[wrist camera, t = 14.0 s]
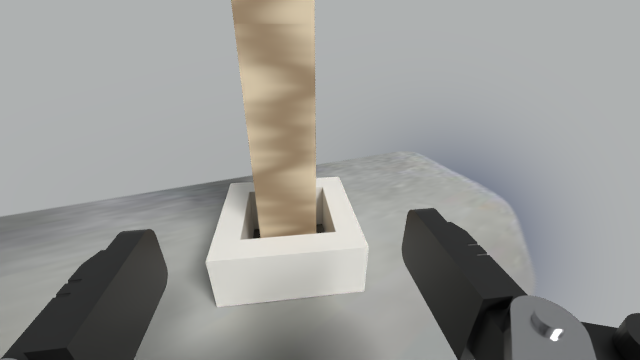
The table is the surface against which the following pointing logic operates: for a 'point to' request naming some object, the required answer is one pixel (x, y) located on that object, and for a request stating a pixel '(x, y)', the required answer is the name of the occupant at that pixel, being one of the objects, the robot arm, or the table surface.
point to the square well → (286, 251)
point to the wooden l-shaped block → (279, 110)
